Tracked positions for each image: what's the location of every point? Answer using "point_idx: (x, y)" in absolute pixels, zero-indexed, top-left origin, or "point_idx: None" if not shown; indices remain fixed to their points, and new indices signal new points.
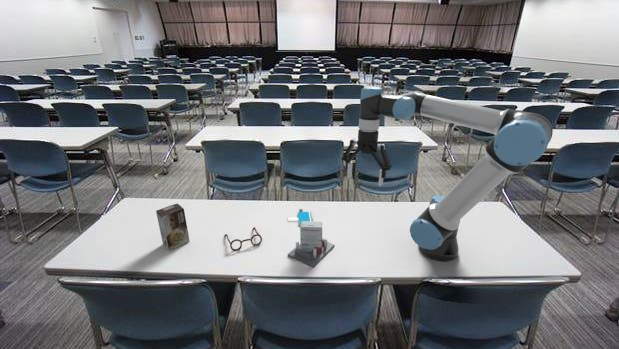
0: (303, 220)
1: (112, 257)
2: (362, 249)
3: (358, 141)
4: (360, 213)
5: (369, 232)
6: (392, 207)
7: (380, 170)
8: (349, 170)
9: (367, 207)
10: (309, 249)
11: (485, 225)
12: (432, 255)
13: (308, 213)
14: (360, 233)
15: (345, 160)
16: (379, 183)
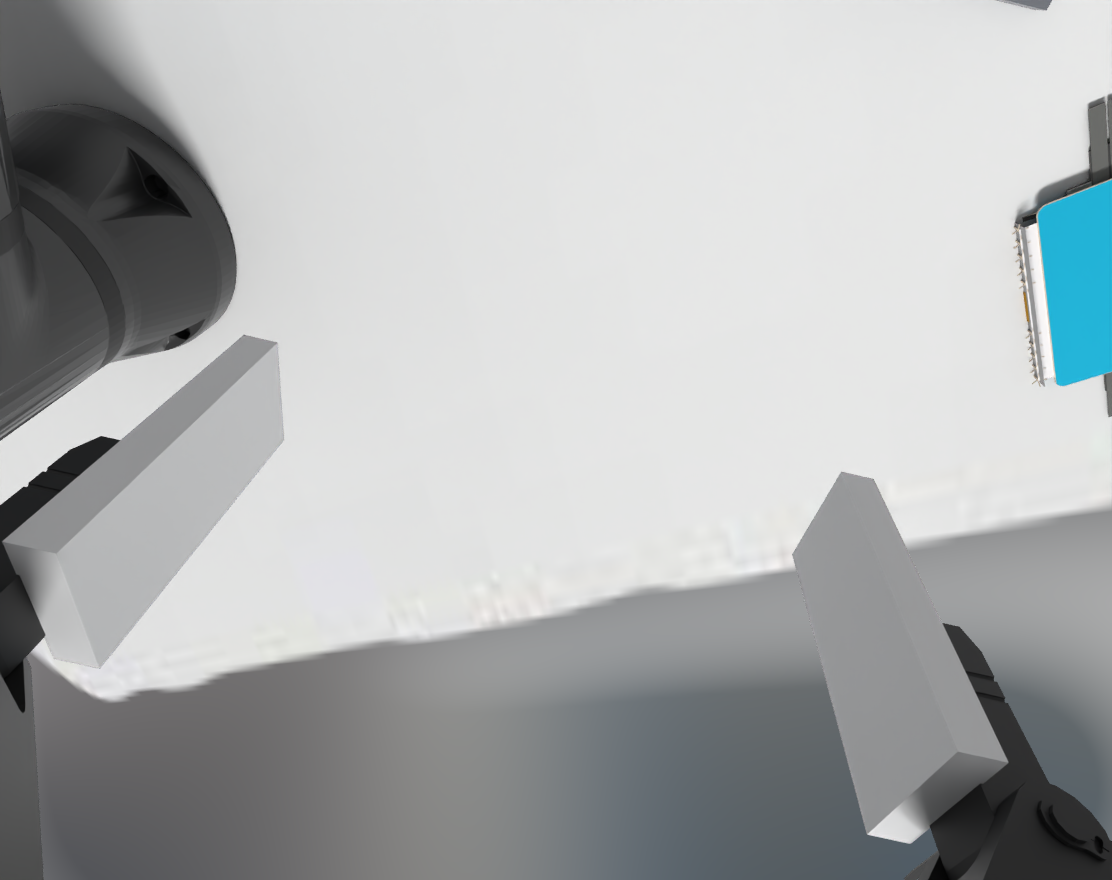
0: (1107, 249)
1: None
2: (553, 19)
3: None
4: (661, 475)
5: (557, 277)
6: (494, 576)
7: (48, 561)
8: (881, 601)
9: (631, 545)
10: None
11: None
12: (84, 112)
13: (1057, 364)
14: (614, 242)
15: (1105, 859)
16: (230, 363)
